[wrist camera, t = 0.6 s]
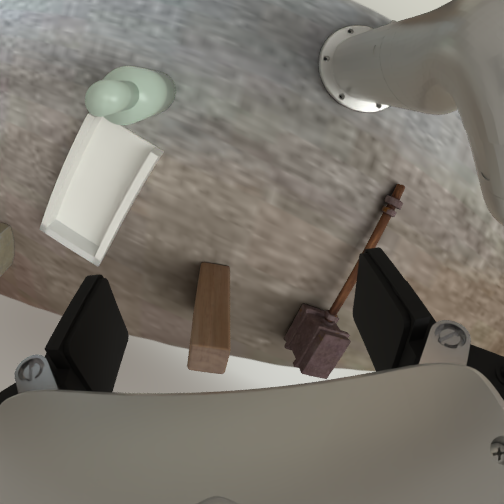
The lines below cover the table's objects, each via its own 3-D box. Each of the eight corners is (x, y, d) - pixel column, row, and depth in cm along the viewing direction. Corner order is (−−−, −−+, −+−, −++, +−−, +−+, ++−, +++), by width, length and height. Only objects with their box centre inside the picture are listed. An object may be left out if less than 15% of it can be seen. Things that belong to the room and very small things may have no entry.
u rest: (97, 110, 37) (87, 113, 34) (164, 151, 41) (158, 156, 38) (49, 220, 44) (39, 229, 41) (105, 255, 48) (98, 266, 45)
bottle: (147, 63, 34) (92, 50, 19) (184, 85, 36) (151, 83, 21) (123, 101, 37) (58, 114, 21) (159, 122, 39) (112, 147, 23)
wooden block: (220, 310, 54) (218, 396, 38) (194, 306, 53) (184, 392, 37) (230, 265, 50) (231, 350, 34) (201, 260, 49) (190, 345, 33)
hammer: (280, 340, 56) (294, 374, 47) (365, 170, 49) (399, 177, 39) (312, 348, 58) (329, 381, 49) (395, 188, 50) (430, 199, 41)
